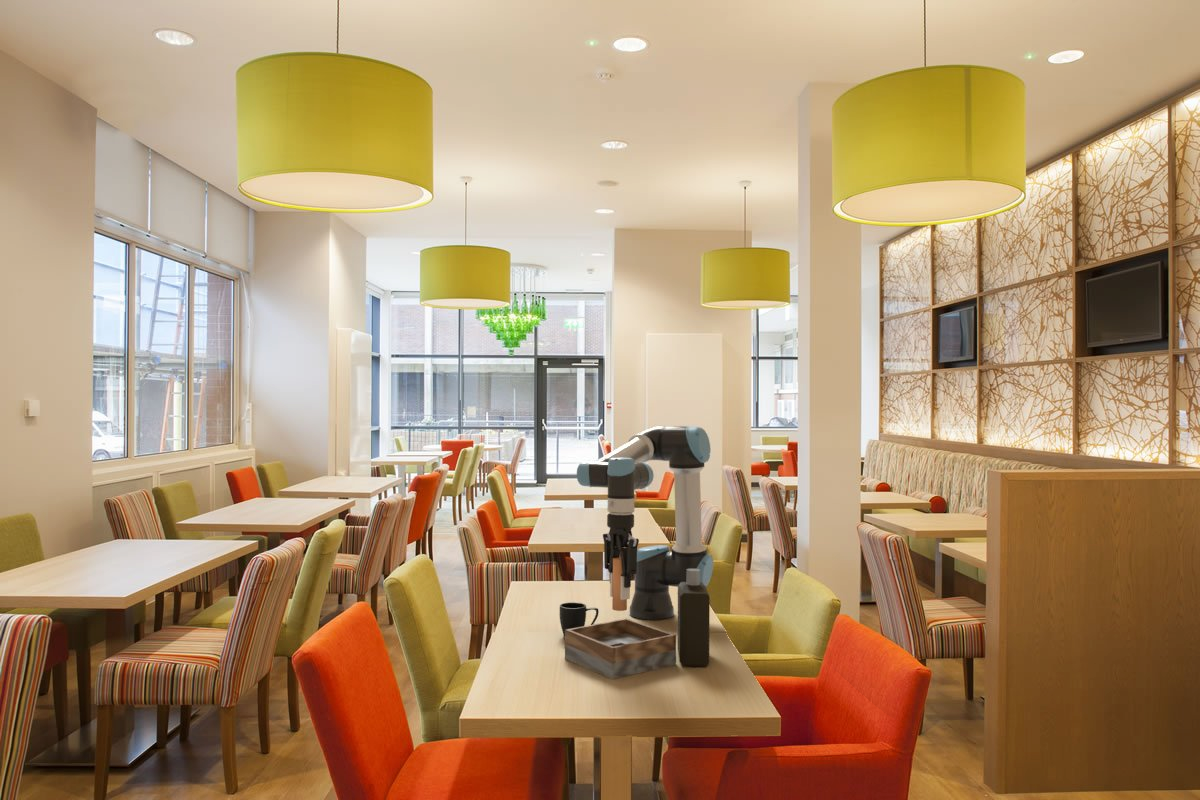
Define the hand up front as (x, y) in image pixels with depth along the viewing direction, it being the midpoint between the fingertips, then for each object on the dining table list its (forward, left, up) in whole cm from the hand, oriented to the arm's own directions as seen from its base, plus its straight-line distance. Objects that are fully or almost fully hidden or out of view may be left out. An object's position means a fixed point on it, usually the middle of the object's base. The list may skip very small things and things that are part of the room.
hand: (619, 597), depth 229 cm
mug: (-5, -27, -18) cm, 33 cm away
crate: (0, 0, -18) cm, 18 cm away
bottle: (-18, +10, -18) cm, 28 cm away
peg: (0, 0, -3) cm, 3 cm away
